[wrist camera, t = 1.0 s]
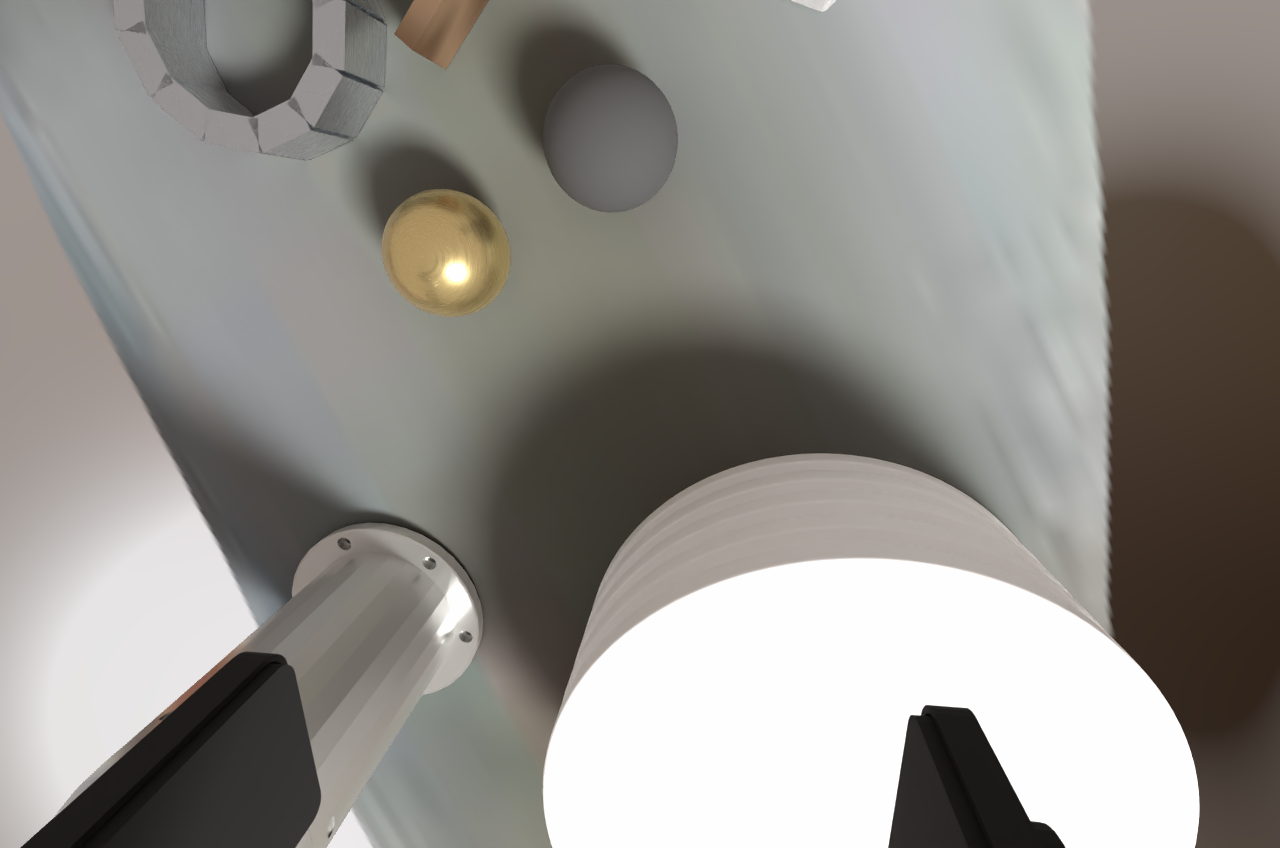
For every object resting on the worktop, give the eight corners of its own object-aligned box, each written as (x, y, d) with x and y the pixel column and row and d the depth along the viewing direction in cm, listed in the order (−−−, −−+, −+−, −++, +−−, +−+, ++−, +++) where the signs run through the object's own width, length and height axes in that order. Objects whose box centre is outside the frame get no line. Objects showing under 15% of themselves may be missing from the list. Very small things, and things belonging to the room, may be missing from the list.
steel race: (317, 202, 33) (272, 200, 30) (143, 57, 32) (76, 37, 28) (427, 17, 30) (390, -9, 26) (237, -154, 28) (173, -204, 25)
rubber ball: (628, 238, 32) (609, 241, 26) (537, 158, 31) (497, 143, 25) (706, 140, 30) (704, 120, 24) (612, 52, 29) (587, 10, 23)
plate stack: (542, 491, 37) (469, 602, 26) (1048, 413, 32) (1218, 509, 21) (639, 841, 45) (614, 1038, 34) (1059, 821, 40) (1187, 1044, 29)
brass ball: (483, 331, 34) (437, 352, 28) (396, 258, 33) (331, 265, 28) (548, 245, 32) (512, 249, 27) (457, 166, 32) (401, 153, 26)
